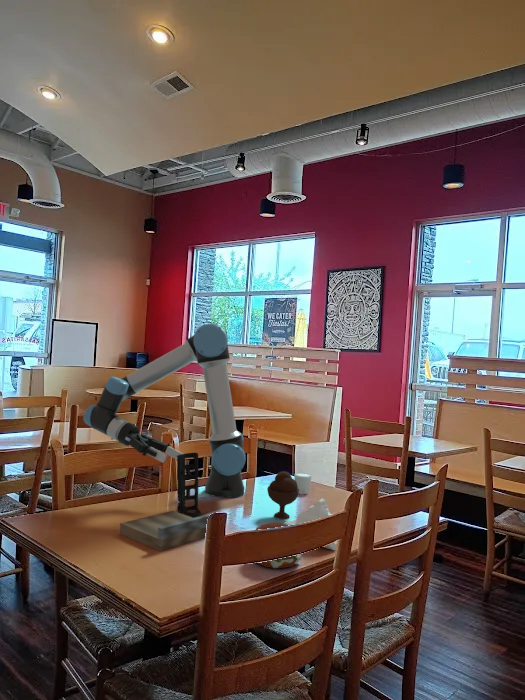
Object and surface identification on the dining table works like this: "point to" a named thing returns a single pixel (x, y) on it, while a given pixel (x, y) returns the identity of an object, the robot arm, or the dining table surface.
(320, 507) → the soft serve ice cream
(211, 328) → the robot arm
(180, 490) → the holder
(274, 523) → the burger
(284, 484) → the ice cream bowl
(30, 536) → the dining table surface
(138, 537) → the board
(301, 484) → the white cup
